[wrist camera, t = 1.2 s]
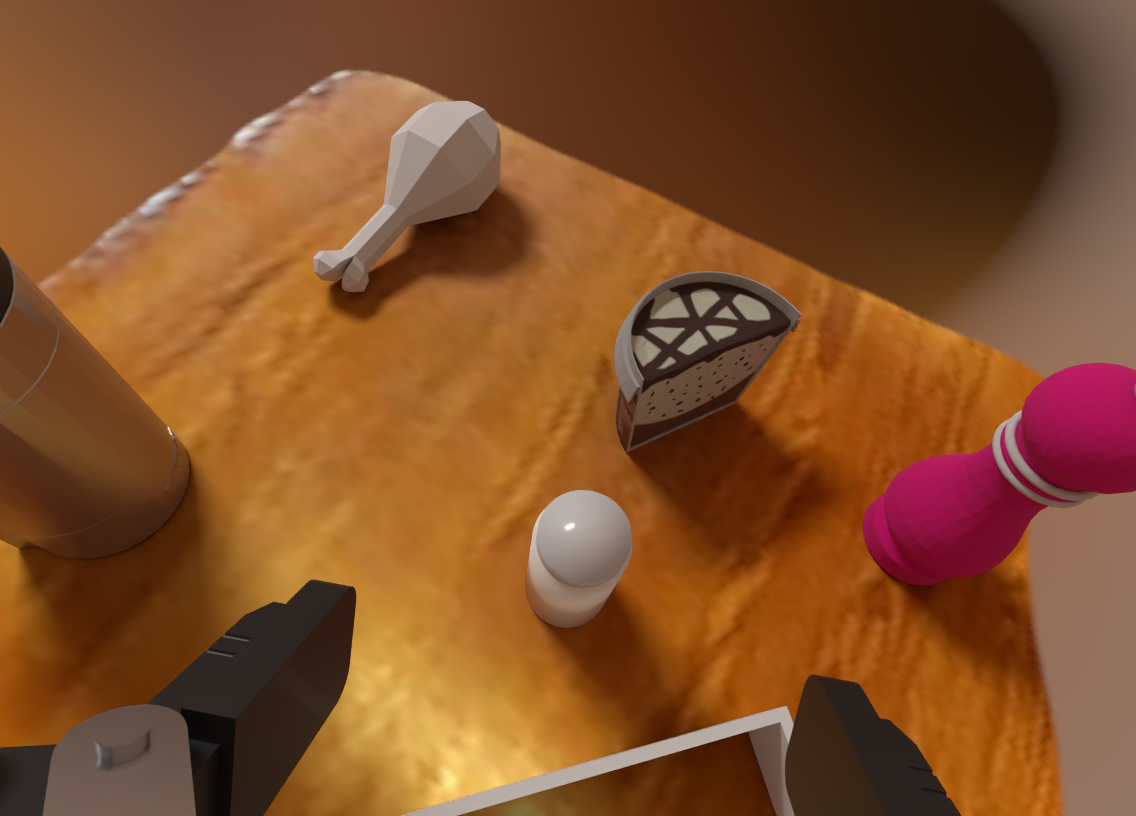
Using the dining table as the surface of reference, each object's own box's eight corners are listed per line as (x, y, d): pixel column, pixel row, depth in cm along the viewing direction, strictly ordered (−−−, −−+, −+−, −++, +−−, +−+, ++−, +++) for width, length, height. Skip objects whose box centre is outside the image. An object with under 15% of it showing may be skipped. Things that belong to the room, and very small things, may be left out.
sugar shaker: (535, 637, 38) (546, 597, 30) (517, 554, 40) (523, 497, 32) (616, 617, 39) (649, 573, 31) (594, 538, 41) (619, 478, 33)
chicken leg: (289, 266, 51) (277, 226, 43) (432, 116, 56) (446, 55, 48) (376, 334, 52) (380, 308, 44) (508, 182, 57) (533, 135, 49)
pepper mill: (926, 479, 46) (1189, 297, 28) (982, 580, 42) (1319, 442, 25) (836, 500, 44) (1055, 320, 27) (886, 605, 41) (1174, 477, 23)
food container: (705, 333, 50) (749, 241, 41) (752, 396, 48) (808, 311, 39) (565, 390, 46) (581, 301, 38) (607, 461, 44) (634, 383, 35)
